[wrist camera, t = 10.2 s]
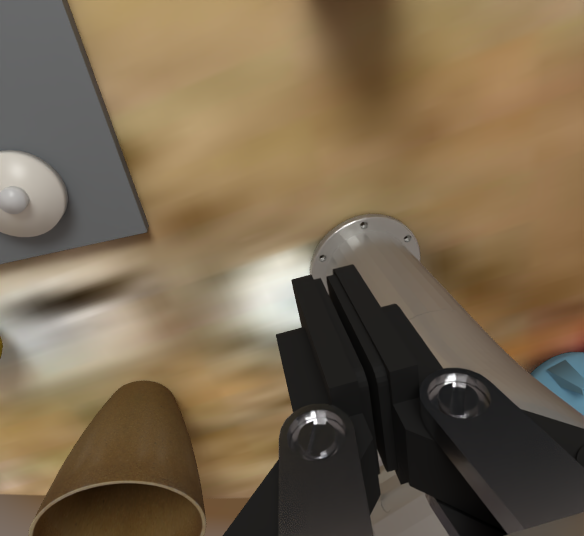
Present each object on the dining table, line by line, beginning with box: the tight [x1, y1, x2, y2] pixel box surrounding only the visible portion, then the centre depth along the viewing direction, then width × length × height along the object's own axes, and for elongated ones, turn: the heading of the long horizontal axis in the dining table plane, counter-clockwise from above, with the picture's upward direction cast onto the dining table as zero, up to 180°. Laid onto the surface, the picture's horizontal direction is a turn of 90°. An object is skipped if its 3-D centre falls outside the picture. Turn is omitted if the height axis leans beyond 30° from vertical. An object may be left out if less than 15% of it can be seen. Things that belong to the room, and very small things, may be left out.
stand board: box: [0, 0, 149, 264], centre depth 34 cm, size 20×17×2 cm
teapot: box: [531, 352, 584, 415], centre depth 61 cm, size 15×15×11 cm
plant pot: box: [28, 381, 206, 536], centre depth 44 cm, size 15×15×16 cm
